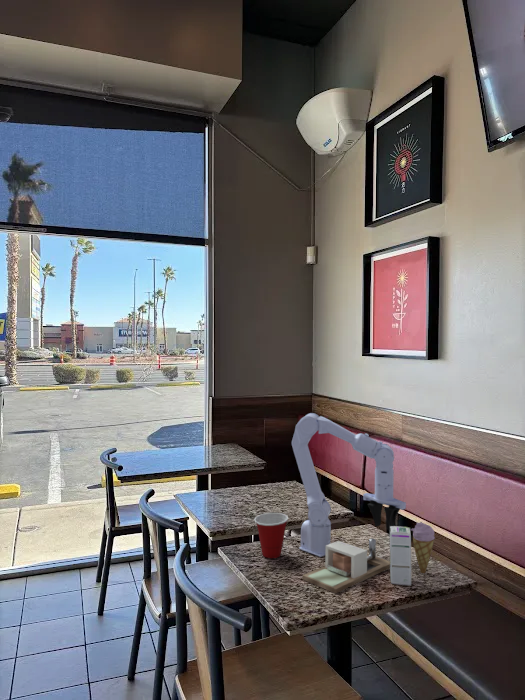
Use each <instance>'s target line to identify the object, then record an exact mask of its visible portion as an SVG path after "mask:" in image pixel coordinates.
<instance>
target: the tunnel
mask: <svg viewBox="0 0 525 700" xmlns="http://www.w3.org/2000/svg"><path fill="white" fill-rule="evenodd" d="M336 552H338V553H341V554H344V555H347V556H350V557H351V578H356V577H359V576H361V575H363V574H365V573H367V554H368V550H367V549H365V548H362V547H358V546H355V545H353V544H350V543H346V542H343V541H340V540H337V541H334V542H331V544H328V545H326V548H325V558H324V559H325V562H324V563H325V565H324V566H325V568H327V565H333V554H334V553H336Z"/></svg>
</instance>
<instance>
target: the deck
mask: <svg viewBox="0 0 525 700" xmlns="http://www.w3.org/2000/svg"><path fill="white" fill-rule="evenodd" d="M367 556H369V553H367ZM388 569H389V570H390V560H387V559H384V558H380V557H378V556H376V558H372V559H370V560H368V561H367V573H365V574H363V575H361V576H359V577H356V578H351V574H350V575H348V576H343V575H341V574H338V573H336V572H333V571H330V570H328V569H327V568H325V565H324V566H322V567H319V568H317V569H314V570H312V571H309V572H307V573H304V574H302V578H301V579H302V580H303V581H305V582H308V583H309V584H310V583H311V585H315V586H317V587H319V588H322V589H324V590H326V591H327V592H328V591H329V592H330V593H333V594H339V593H340V592H343V591H344V590H346V588H347V589H348V587H349V588H350V586H351V587H353V586H355V585H358V584H359V583H362V582H363V581H365V580H367V579H369V578H371V577H373V576H376V575H378V574H380V573H382V572H385V571H386V570H388ZM352 585H353V586H352Z"/></svg>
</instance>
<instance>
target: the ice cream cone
mask: <svg viewBox="0 0 525 700" xmlns="http://www.w3.org/2000/svg"><path fill="white" fill-rule="evenodd" d="M411 531H412V543H413V548H414V553H415V557H416V561H417V564H418V568H419V572H420V573H421V574H425V573H426V572H427V568H428V565H429V562H430V559H431V555H432V550H433V547H434V541H435V539H436V538H435V531H434V529H433V528H432V526H431V525H428V524H427V523H424V522H422V521H421V522H416V525H414V528H413V527H412V528H410V532H411Z"/></svg>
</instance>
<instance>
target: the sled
mask: <svg viewBox="0 0 525 700" xmlns="http://www.w3.org/2000/svg"><path fill="white" fill-rule="evenodd" d="M376 541H377V539H376V538H373V537H371V538H369V539H368V554H369V556H367V561H368V560H370V559H372V558H376V557H377V556H376V553H377V549H376V548H377V547H376V545H377V544H376V543H377V542H376ZM327 569H328V570H330V571H333V572H336V573H338V574H341V575H343V576H348V575H350V574H351V569H350V570H347V571H344V570H341V569H339V568H336V567H333V565H327Z"/></svg>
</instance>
